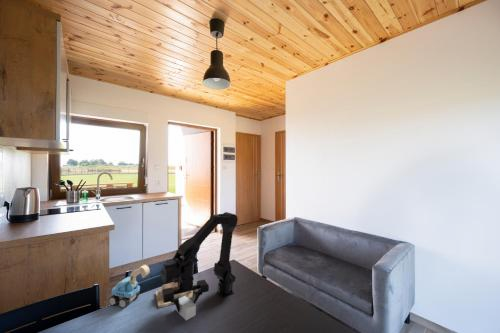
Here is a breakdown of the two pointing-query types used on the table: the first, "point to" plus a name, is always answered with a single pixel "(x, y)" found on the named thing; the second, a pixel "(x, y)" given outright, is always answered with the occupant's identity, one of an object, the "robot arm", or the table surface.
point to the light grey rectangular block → (186, 308)
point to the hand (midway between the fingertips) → (185, 309)
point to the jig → (162, 304)
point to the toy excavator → (128, 288)
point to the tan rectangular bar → (173, 285)
